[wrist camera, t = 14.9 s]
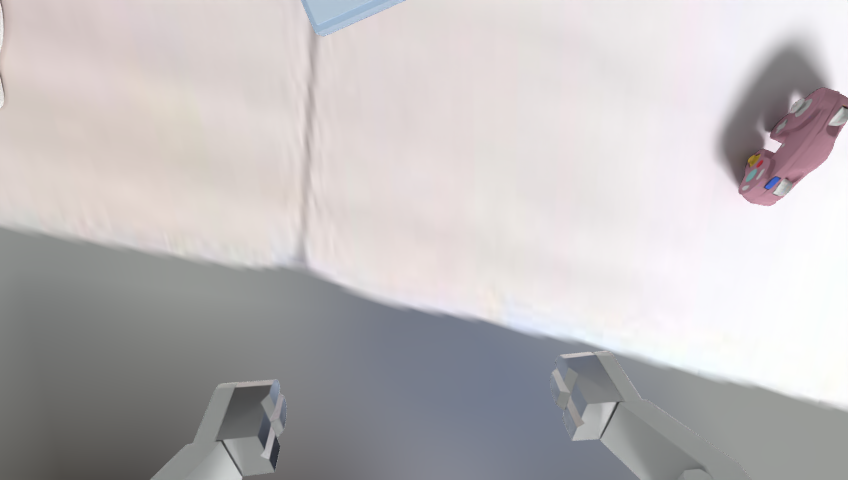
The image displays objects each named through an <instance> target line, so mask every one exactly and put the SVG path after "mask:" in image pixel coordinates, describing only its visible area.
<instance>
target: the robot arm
mask: <svg viewBox="0 0 848 480" xmlns="http://www.w3.org/2000/svg"><path fill="white" fill-rule="evenodd" d="M3 31H4V28H3V14H2V8H1V3H0V51H1V47H2V42H3ZM3 103H4V93H3V87H2V83H1V79H0V108H1V107H2V106H3ZM555 364H556V366H557V369H555V370H554V371H553V372H552V374H551V378H550V383H551V391H552V395H553V398H554V400H555V403H556V404H557V405H558V406H559V407H560V408H562V409H563V410H564V414H563V418H562V419H563V421H564V424H565V426H566V428H567V430H568V433H569V435H570V437H571V440H572V441H577V440H590V439H601V440H600V441H602V442H603V443H604V444H605V445H606V446H607V447H608V448H609V449H610V450H611V451H612V452H613V453H614V454H615V455H616V456H617V457H618V458H619V459H620V460H621V461H622V462H623V463H624V464H625V465H626V466H627V467H628V468H629V469H630V470H631V471H632V472H633V473H634V474H636V475H637V476H638V477H639V478H640V479H641V480H751V478H750V477H749V476H748V474H747V473H746V472H745V470H744V469H743V468H742V466H741V465H740V464H739V463H738V462H736V461H735V460H734V459H732V458H731V457H729V456H728V455H727V454H725V453H724V452H722V451H721V450H719V449H718V448H716V447H715V446H714V445H712V444H711V443H709V442H708V441H706V440H705V439H703V438H702V437H700V436H699V435H698V434H696V433H695V432H693V431H692V430H690V429H689V428H688V427H686V426H685V425H683V424H682V423H680V422H679V421H677V420H676V419H675V418H673V417H672V416H670V415H669V414H667V413H666V412H664V411H663V410H662V409H660V408H659V407H657V406H656V405H654V404H653V403H651V402H650V401H648V400H642V398H641V397H640V395H639V394H638V392H637V391H636V389H635V388H634V386H633V385H632V383H631V382H630V380H629V378H628V377H627V375H626V374H625V372H624V371H623V369H622V368H621V366H620V365H619V363H618V362H617V360H616V358H615V357H614V356H613V354H612V353H611V352H610V351H599V352H584V353H574V354H565V355H559V356H558V357H557V358H556V361H555ZM279 390H280V384H279V382H278V380H264V381H250V382H234V383H222V384H219V385H218V387H217V388H216V389H215V391H214V393H213V396H212V398H211V401H210V403H209V405H208V408H207V410H206V412H205V415H204V417H203V420H202V422H201V425H200V427H199V430H198V432H197V434H196V437H195V439H194V441H193V444H187V445H186V446H185V447H184V448H182V449H181V450H180V451H179V452H178V453H177V454H176V455H175V456H174V457H173V458H172V459H171V460H170V461H169V462H168V463H167V464H166V465H165V466H164V467H163V468H162V469H161V470H160V471H159V472H158V473H157V474H156V475H155V476H154V477H152V478H151V479H150V480H242V476H247V475H256V474H263V473H271V472H275V469H276V464H277V460H278V455H279V451H280V444H279V442H278V439H277V438H278V437H279V435H280V434H281V433H282V432H283V431H284V428H285V423H286V413H287V407H286V401H285V398H284V396H283V395H281V394H280V393H279Z"/></svg>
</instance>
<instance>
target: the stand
mask: <svg viewBox="0 0 848 480" xmlns="http://www.w3.org/2000/svg"><path fill="white" fill-rule="evenodd" d="M403 1H405V0H301V2H302V4H303V6H304V9H305V11H306V13H307V15H308V18H309V20H310V22H311V24H312V27H313V29H314V31H315V33H316V34H318V35H321V36H326V35H328V34H330V33H333V32H335V31H337V30H339V29H342V28H344V27H346V26H349V25H351V24H353V23H355V22H358V21H360V20H362V19H364V18H367V17H369V16H371V15H373V14H376V13H378V12H380V11H382V10H385V9H387V8H389V7H392V6H394V5H396V4H398V3H401V2H403Z"/></svg>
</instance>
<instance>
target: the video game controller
mask: <svg viewBox="0 0 848 480" xmlns="http://www.w3.org/2000/svg"><path fill="white" fill-rule="evenodd" d="M847 120H848V98H847V97H846V96H844V95H842V94H839V92H838V91H834V90H831V89H828V88H820V89H817V90H816V91H814V92H813V93H812V94H810V95H809V96H808V97H807V98H806V99H804V98H803V99H800V100H798V101H797V102H795V103H794V104H793V106H792V107H791V112H790V113H789V114H788V115H786V116H785V117H783V118H782V119H781V120H780V121H779V122H778V123H777V125H776V126H775V127H774V129H773V130H772V132H771V134H770V138H771V139H774V140H776V141H778V142H780V143H782V145H781V146H780V148H779V149H778V150H777V151H776V153H773V152H771V151H768V150H766V149H761V150H759V151H758V152H757V153H755V154H754V155H753V156H751V157H750V158H749V159H748V163H747V165H746V167H745V176H744V178H743V180H742V182H741V184H740V186H739V194H742V195H743V197H744V198H745V199H746V200H747V201H749V202H750V203H754V204H759V205H764V206H771V205H773V204H775V203H776V201H778V200H780V199H781V198H783V197H784V196H785V195H786V194H787V193H788V192H789V191H790V190H791V189H792V188H793V187H794V186H795V185H796V184H797V183H798V182H799V181H800V180H801V179H802V178H804V177H805V176H806V175H807V174H808V173H810V172H811V171H813V170H814V169H816V168H817V167H818V166H820V165H821V164H822V163H823V162H824V161H825V160H826V159H827V158H828V156H829V154H830V153H831V151H832V149H833V146H834V143H835V140H836V138H837V136H838V134H839V132H840V131H841V129H842V128H843V126H844V125H845V123H846V122H847Z"/></svg>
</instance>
